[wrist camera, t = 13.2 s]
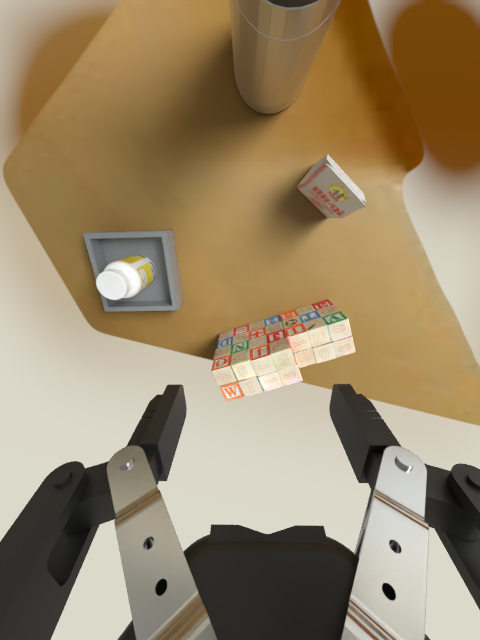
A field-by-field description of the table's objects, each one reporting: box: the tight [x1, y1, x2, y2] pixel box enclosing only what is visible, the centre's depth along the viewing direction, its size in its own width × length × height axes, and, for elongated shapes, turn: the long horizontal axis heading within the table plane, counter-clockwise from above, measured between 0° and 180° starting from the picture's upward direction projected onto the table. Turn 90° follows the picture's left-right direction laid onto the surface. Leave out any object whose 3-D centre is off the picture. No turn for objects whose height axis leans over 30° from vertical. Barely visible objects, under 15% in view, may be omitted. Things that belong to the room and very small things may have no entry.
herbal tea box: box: [296, 154, 367, 218], centre depth 30 cm, size 4×7×10 cm, turn 51°
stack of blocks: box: [211, 300, 355, 401], centre depth 39 cm, size 21×6×12 cm, turn 110°
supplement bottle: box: [96, 254, 156, 300], centre depth 35 cm, size 5×5×10 cm
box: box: [83, 230, 183, 312], centre depth 38 cm, size 13×13×4 cm
